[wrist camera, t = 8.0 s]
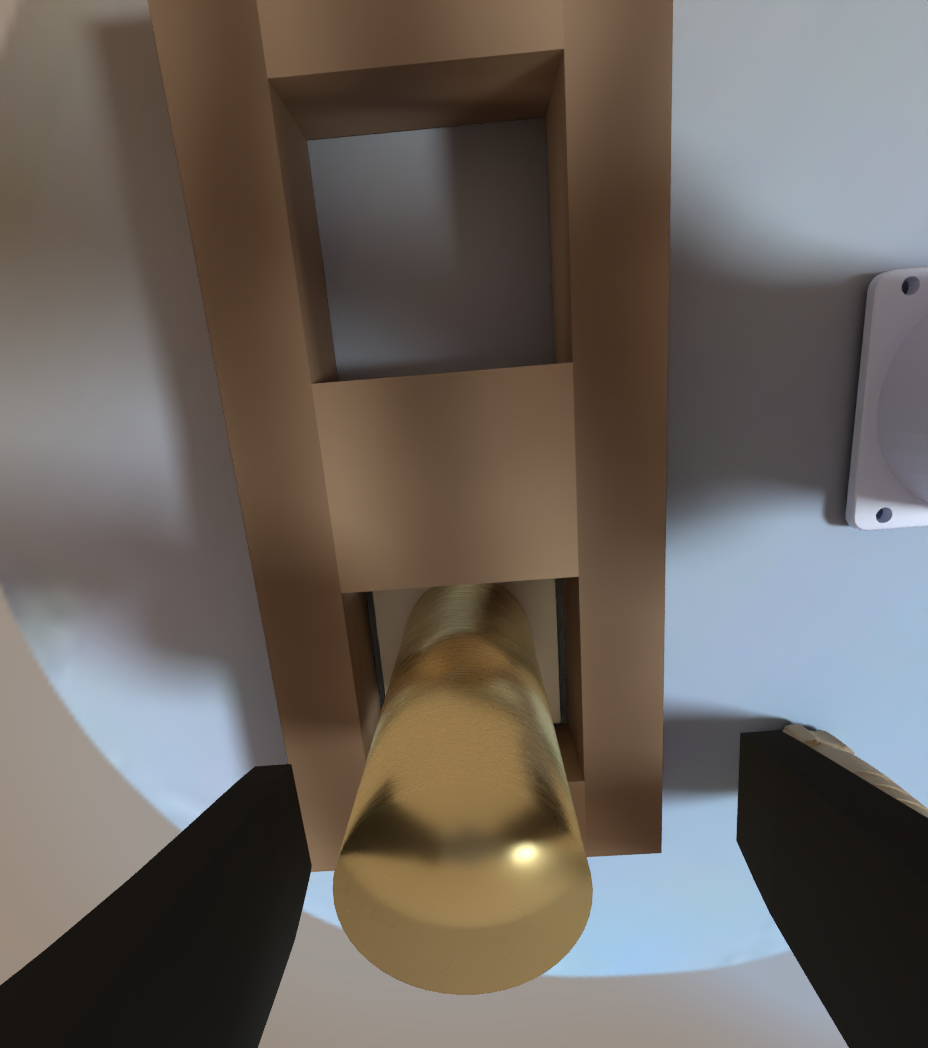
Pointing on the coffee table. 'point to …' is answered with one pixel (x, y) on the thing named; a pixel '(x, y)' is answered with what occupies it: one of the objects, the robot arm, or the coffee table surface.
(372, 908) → the peg
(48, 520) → the coffee table surface
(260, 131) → the mount block
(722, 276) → the coffee table surface
